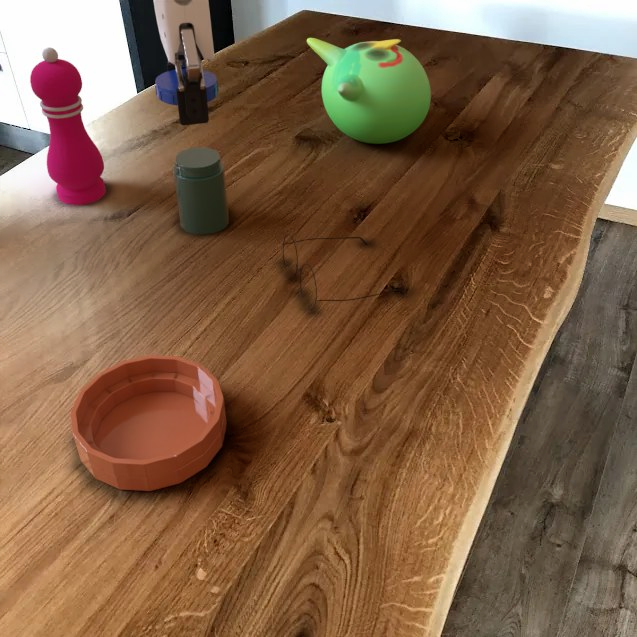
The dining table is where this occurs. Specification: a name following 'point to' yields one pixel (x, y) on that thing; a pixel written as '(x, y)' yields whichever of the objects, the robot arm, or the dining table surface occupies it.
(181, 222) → the jar
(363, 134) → the toy bird
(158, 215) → the dining table surface
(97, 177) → the pepper mill
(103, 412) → the bowl
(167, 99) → the lid
